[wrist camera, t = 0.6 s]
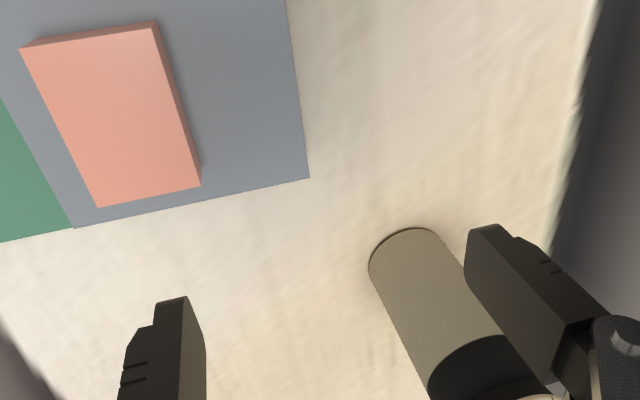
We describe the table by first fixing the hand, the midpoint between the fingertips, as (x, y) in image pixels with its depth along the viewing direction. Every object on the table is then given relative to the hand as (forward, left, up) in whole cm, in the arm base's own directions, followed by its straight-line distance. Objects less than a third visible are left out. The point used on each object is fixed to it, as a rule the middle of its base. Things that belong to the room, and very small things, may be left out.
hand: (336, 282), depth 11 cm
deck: (-1, -6, -21) cm, 22 cm away
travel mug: (+20, +11, -21) cm, 31 cm away
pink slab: (-1, -8, -16) cm, 17 cm away
